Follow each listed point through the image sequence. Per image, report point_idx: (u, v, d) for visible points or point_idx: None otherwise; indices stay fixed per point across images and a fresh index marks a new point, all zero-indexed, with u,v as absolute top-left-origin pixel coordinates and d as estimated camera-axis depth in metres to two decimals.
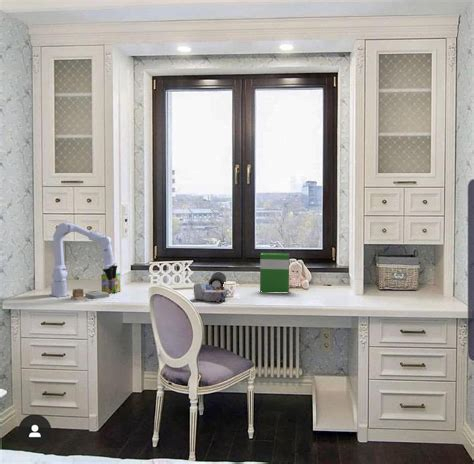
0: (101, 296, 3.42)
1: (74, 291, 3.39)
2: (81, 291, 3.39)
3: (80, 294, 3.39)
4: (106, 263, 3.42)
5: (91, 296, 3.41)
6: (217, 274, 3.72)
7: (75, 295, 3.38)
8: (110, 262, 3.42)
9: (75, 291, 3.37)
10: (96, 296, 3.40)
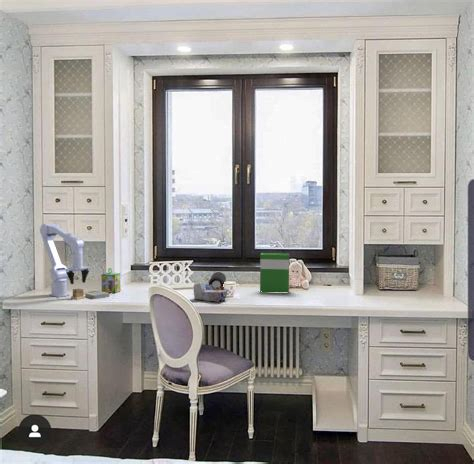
0: (101, 296, 3.42)
1: (74, 291, 3.39)
2: (81, 291, 3.39)
3: (80, 294, 3.39)
4: None
5: (91, 296, 3.41)
6: (217, 274, 3.72)
7: (75, 295, 3.38)
8: (75, 266, 3.36)
9: (76, 291, 3.37)
10: (96, 296, 3.40)
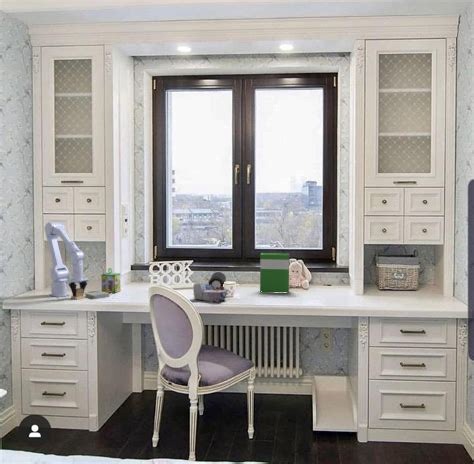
0: (101, 296, 3.42)
1: None
2: (81, 291, 3.39)
3: (80, 294, 3.39)
4: None
5: (91, 296, 3.41)
6: (217, 274, 3.72)
7: None
8: (75, 278, 3.37)
9: (76, 291, 3.37)
10: (96, 296, 3.40)
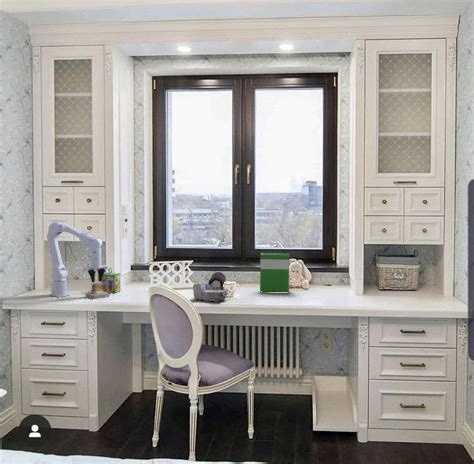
0: (101, 296, 3.42)
1: (93, 286, 3.44)
2: (100, 286, 3.45)
3: (99, 288, 3.45)
4: (91, 265, 3.43)
5: (91, 296, 3.41)
6: (217, 274, 3.72)
7: (94, 290, 3.44)
8: (94, 265, 3.42)
9: (95, 286, 3.43)
10: (96, 296, 3.40)
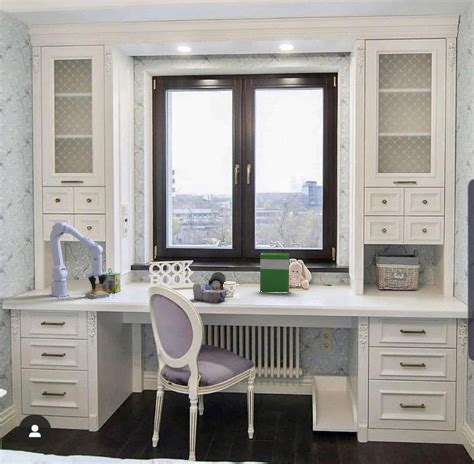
0: (101, 296, 3.42)
1: None
2: (100, 286, 3.45)
3: (99, 288, 3.45)
4: (92, 272, 3.44)
5: (91, 296, 3.41)
6: (217, 274, 3.72)
7: (94, 290, 3.44)
8: (94, 272, 3.42)
9: (95, 286, 3.43)
10: (96, 296, 3.40)
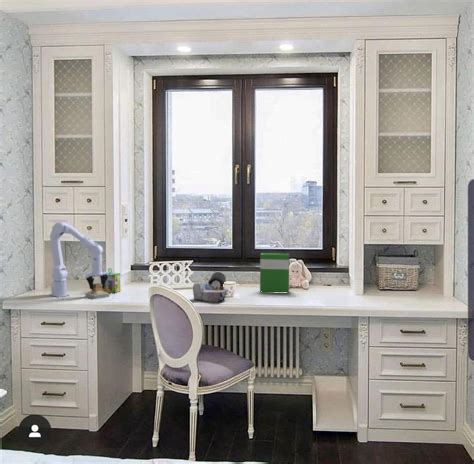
0: (101, 296, 3.42)
1: (93, 286, 3.44)
2: (100, 286, 3.45)
3: (99, 288, 3.45)
4: (92, 272, 3.44)
5: (91, 296, 3.41)
6: (217, 274, 3.72)
7: (94, 290, 3.44)
8: (94, 272, 3.42)
9: (95, 286, 3.43)
10: (96, 296, 3.40)
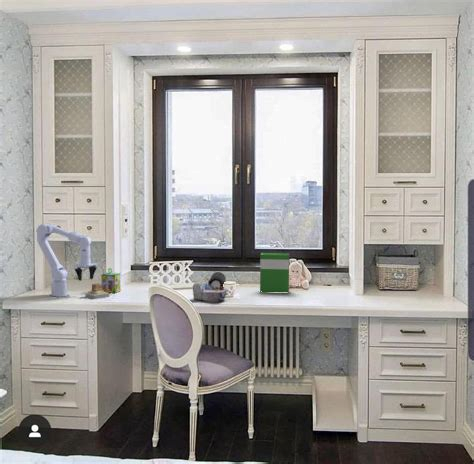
0: (101, 296, 3.42)
1: (93, 286, 3.44)
2: (100, 286, 3.45)
3: (99, 288, 3.45)
4: None
5: (91, 296, 3.41)
6: (217, 274, 3.72)
7: (94, 290, 3.44)
8: (83, 263, 3.43)
9: (95, 286, 3.43)
10: (96, 296, 3.40)
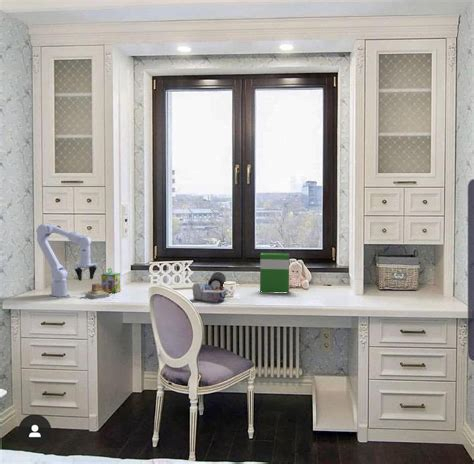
0: (101, 296, 3.42)
1: (93, 286, 3.44)
2: (100, 286, 3.45)
3: (99, 288, 3.45)
4: None
5: (91, 296, 3.41)
6: (217, 274, 3.72)
7: (94, 290, 3.44)
8: (83, 263, 3.43)
9: (95, 286, 3.43)
10: (96, 296, 3.40)
